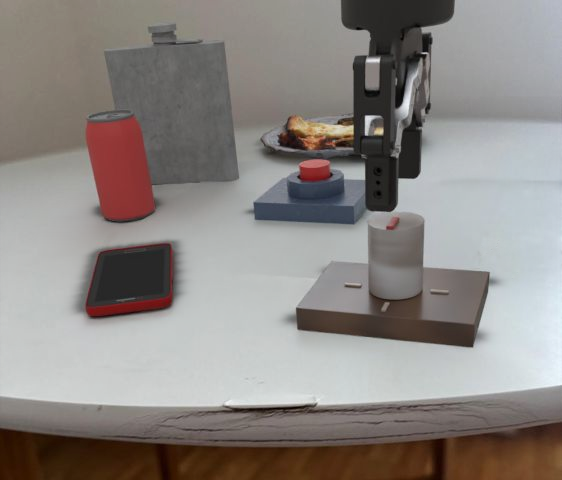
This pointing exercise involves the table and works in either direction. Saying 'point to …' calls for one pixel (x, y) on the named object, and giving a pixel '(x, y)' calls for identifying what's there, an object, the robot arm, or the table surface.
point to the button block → (313, 200)
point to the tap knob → (395, 255)
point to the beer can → (119, 165)
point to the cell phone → (131, 280)
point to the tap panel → (396, 306)
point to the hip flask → (178, 105)
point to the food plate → (315, 136)
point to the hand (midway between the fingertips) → (394, 192)
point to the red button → (314, 170)
